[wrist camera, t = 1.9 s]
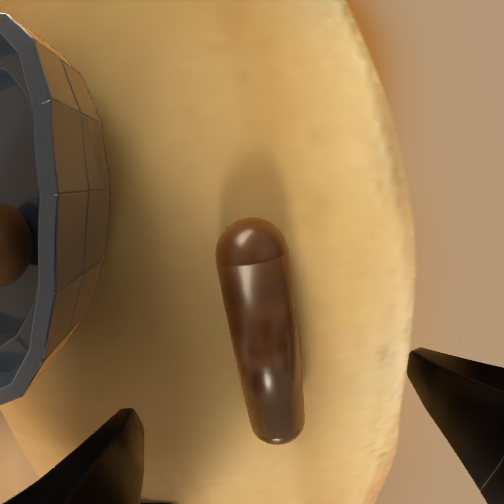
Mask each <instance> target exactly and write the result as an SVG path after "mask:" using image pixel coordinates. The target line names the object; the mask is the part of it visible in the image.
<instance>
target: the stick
mask: <svg viewBox="0 0 504 504" xmlns="http://www.w3.org/2000/svg"><path fill="white" fill-rule="evenodd" d="M215 256H216V264H217V270H218V275H219V280H220V285H221V290H222V295H223V300H224V305H225V310H226V315H227V320H228V325H229V330H230V335H231V339H232V344H233V349H234V353H235V358H236V362H237V367H238V371H239V376H240V380H241V385H242V389H243V393H244V398H245V402H246V406H247V410H248V415H249V419H250V423H251V427H252V429H253V432H254V433H255V435H256V436H257V437H258V438H259V439H260V440H262V441H264V442H266V443H268V444H273V445H281V444H286V443H289V442H291V441H292V440H294V439H295V438H296V437H297V436H298V435H299V434H300V433H301V431H302V429H303V427H304V423H305V412H304V399H303V386H302V375H301V363H300V352H299V342H298V332H297V322H296V312H295V303H294V294H293V285H292V277H291V268H290V260H289V252H288V246H287V243H286V240H285V238H284V236H283V235H282V233H281V232H280V231H279V230H278V229H277V228H276V227H275V226H274V225H272V224H271V223H269V222H267V221H264V220H262V219H256V218H247V219H242V220H239V221H237V222H235V223H233V224H232V225H230V226H229V227H228V228H226V230H225V231H224V232H223V233H222V235H221V236H220V238H219V240H218V243H217V246H216V252H215Z"/></svg>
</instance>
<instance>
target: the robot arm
mask: <svg viewBox="0 0 504 504" xmlns="http://www.w3.org/2000/svg"><path fill="white" fill-rule="evenodd" d="M407 375H408V378H409V379H410V381H411V383H412V385H413V387H414V388H415V390H416V392H417V394H418V396H419V397H420V399H421V401H422V403H423V405H424V407H425V408H426V410H427V411H428V413H429V414H430V416H431V417H432V418H433V420H434V422H435V423H436V424H437V426H438V427H439V429H440V430H441V432H442V433H443V435H444V436H445V438H446V439H447V440H448V442H449V443H450V445H451V447H452V448H453V449H454V451H455V453H456V454H457V456H458V457H459V459H460V460H461V461H462V463H463V465H464V466H465V468H466V469H467V471H468V473H469V474H470V475H471V477H472V479H473V480H474V482H475V484H476V485H477V487H478V488H479V490H481V491H480V492H481V494H482V495H483V497H484V498H485V500H486V502H487V503H488V504H504V368H502V367H498V366H493V365H489V364H485V363H481V362H476V361H472V360H468V359H464V358H460V357H456V356H452V355H448V354H444V353H440V352H436V351H432V350H429V349H425V348H418V349H415V350H412V351H411V352H410V353H409V359H408V366H407ZM143 473H144V427H143V425H142V423H141V421H140V419H139V417H138V415H137V413H136V411H135V410H134V409H133V408H122V409H120V410H119V411H118V412H117V413H116V414H115V415H113V416H112V417H111V418H110V419H109V420H108V421H107V422H106V423H104V424H103V425H102V426H101V427H100V428H99V429H98V430H97V431H95V432H94V433H93V434H92V435H91V436H90V437H89V438H87V439H86V440H85V441H84V442H83V443H82V444H81V445H79V446H78V447H77V448H76V449H75V450H74V451H72V452H71V453H70V454H69V455H68V456H67V457H65V458H64V459H63V460H62V461H61V462H60V463H58V464H57V465H56V466H55V468H52V469H51V470H50V471H49V472H48V473H47V474H45V475H44V476H43V477H42V478H40V479H39V480H38V481H36V482H35V483H34V484H32V485H31V486H29V487H28V488H26V489H25V490H24V491H22V492H20V493H19V494H17V495H16V496H14V497H12V498H11V499H9V500H8V501H6V502H5V503H3V504H169V503H143V502H140V499H141V490H142V482H143Z"/></svg>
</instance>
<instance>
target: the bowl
mask: <svg viewBox="0 0 504 504" xmlns="http://www.w3.org/2000/svg"><path fill="white" fill-rule="evenodd" d="M109 189H110V186H109V179H108V172H107V165H106V157H105V149H104V140H103V130H102V125H101V121H100V118H99V116H98V114H97V111H96V109H95V107H94V104H93V102H92V100H91V97H90V95H89V92H88V90H87V87H86V85H85V82H84V80H83V77H82V76H81V74H80V73H79V72H78V71H77V70H76V69H75V68H74V67H73V66H72V65H71V64H70V63H69V62H68V61H67V60H65V59H64V58H63V57H62V56H61V55H60V54H59V53H58V52H57V51H56V50H55V49H54V48H52V47H51V46H50V45H49V44H47V43H46V42H45V41H44V40H42V39H41V38H40V37H38V36H37V35H36V34H35V33H33V32H32V31H31V30H29V29H28V28H27V27H25V26H24V25H23V24H22V23H20V22H19V21H18V20H16V19H15V18H14V17H12V16H11V15H10V14H8V13H0V203H5V204H9V205H11V206H13V207H15V208H16V209H18V210H19V211H20V212H21V213H22V214H23V215H24V217H25V218H26V220H27V221H28V223H29V225H30V228H31V231H32V236H33V253H32V258H31V261H30V264H29V266H28V268H27V270H26V271H25V273H24V274H23V275H22V276H21V277H20V278H19V279H18V280H17V281H16V282H14V283H12V284H10V285H8V286H4V287H0V405H2V404H5V403H8V402H10V401H13V400H15V399H18V398H20V397H23V395H25V393H26V392H27V391H28V389H29V388H30V387H31V386H32V384H33V383H34V382H35V380H36V379H37V378H38V377H39V375H40V374H41V373H42V371H43V370H44V369H45V367H46V366H47V365H48V364H49V363H50V361H51V360H52V359H53V358H54V357H55V355H56V354H57V353H58V352H59V351H60V349H61V348H62V347H63V346H64V344H65V343H66V341H67V340H68V339H69V337H70V336H71V334H72V333H73V332H74V330H75V329H76V328H77V326H78V325H79V323H80V322H81V321H82V319H83V318H84V317H85V315H86V313H87V312H88V309H89V305H90V302H91V298H92V295H93V292H94V289H95V285H96V282H97V279H98V276H99V273H100V270H101V267H102V264H103V261H104V257H105V244H106V229H107V217H108V206H109V197H110V190H109Z"/></svg>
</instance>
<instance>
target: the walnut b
mask: <svg viewBox="0 0 504 504" xmlns="http://www.w3.org/2000/svg"><path fill="white" fill-rule="evenodd" d="M32 253H33V236H32V231H31V228H30V225H29V223H28V221H27V220H26V218H25V217H24V215H23V214H22V213H21V212H20V211H19V210H18V209H16V208H15V207H13V206H11V205H9V204H5V203H0V287H4V286H8V285H10V284H12V283H14V282H16V281H17V280H18V279H19V278H20V277H21V276H22V275H23V274H24V273H25V271H26V270H27V268H28V266H29V264H30V261H31V258H32Z"/></svg>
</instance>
